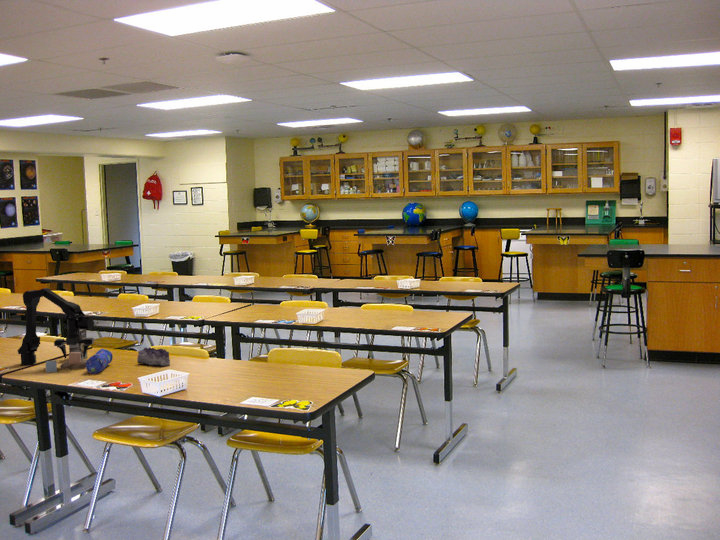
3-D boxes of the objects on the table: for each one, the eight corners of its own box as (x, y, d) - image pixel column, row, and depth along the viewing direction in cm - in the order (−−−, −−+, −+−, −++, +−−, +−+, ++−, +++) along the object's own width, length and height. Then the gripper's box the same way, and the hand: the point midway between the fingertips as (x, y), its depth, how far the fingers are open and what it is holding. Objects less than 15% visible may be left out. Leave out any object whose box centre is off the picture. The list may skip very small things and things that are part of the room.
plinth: (60, 369, 352) (60, 365, 351) (65, 364, 363) (65, 360, 363) (85, 368, 354) (84, 364, 354) (89, 363, 366) (89, 359, 365)
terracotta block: (68, 363, 355) (68, 354, 355) (70, 361, 360) (70, 352, 360) (79, 363, 356) (78, 353, 356) (81, 361, 361) (80, 352, 361)
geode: (178, 363, 364) (176, 345, 362) (162, 371, 354) (160, 352, 352) (149, 358, 373) (148, 341, 371) (134, 365, 363) (132, 347, 361)
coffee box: (80, 361, 371) (79, 331, 370) (69, 361, 371) (67, 331, 370) (88, 357, 380) (86, 328, 379) (76, 357, 380) (75, 328, 379)
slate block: (46, 372, 345) (45, 363, 345) (46, 370, 349) (45, 361, 349) (56, 371, 347) (56, 362, 347) (56, 369, 352) (56, 360, 351)
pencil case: (102, 374, 341) (102, 355, 340) (84, 374, 340) (84, 355, 339) (113, 364, 363) (112, 346, 362) (96, 365, 362) (96, 347, 361)
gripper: (50, 332, 347) (52, 362, 349) (89, 330, 351) (90, 360, 352) (56, 328, 358) (57, 357, 359) (93, 327, 362) (94, 356, 363)
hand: (75, 358), depth 358 cm, fingers open, 9 cm apart
